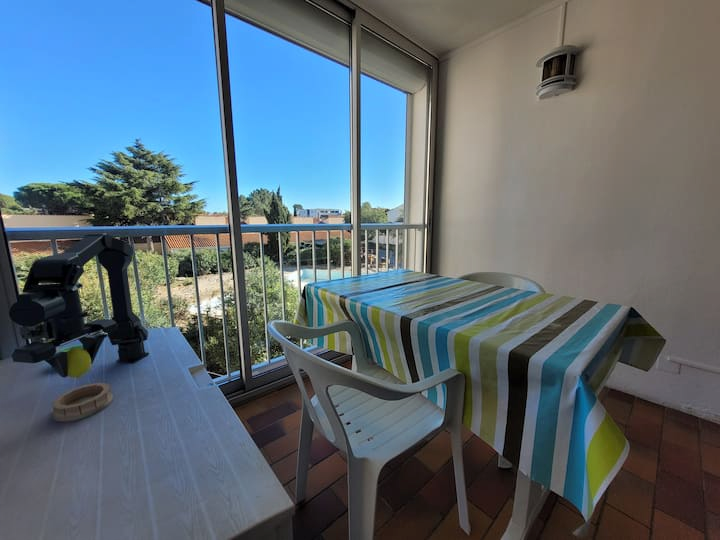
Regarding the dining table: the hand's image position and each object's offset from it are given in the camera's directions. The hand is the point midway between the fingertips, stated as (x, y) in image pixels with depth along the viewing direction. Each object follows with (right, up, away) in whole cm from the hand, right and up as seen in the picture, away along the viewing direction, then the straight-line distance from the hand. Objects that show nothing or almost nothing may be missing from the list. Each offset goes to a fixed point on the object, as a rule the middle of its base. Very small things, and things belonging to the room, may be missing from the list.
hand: (77, 370), depth 71 cm
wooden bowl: (0, -10, +2) cm, 10 cm away
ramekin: (-25, -6, +23) cm, 34 cm away
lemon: (0, -2, 0) cm, 2 cm away
